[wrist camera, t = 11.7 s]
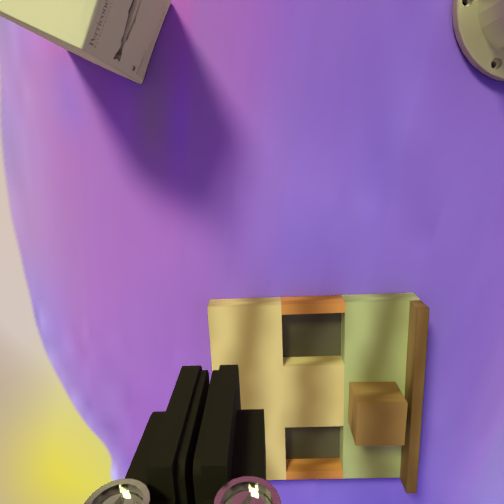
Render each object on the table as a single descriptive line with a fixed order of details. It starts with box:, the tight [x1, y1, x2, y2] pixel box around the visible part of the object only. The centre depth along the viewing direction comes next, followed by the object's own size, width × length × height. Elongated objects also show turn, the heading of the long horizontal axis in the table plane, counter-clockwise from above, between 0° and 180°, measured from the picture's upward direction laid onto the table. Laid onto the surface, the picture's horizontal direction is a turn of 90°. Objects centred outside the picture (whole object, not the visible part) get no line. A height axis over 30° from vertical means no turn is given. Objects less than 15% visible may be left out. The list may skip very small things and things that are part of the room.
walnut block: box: [348, 381, 408, 446], centre depth 39 cm, size 4×4×4 cm
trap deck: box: [207, 293, 429, 493], centre depth 40 cm, size 20×20×4 cm
